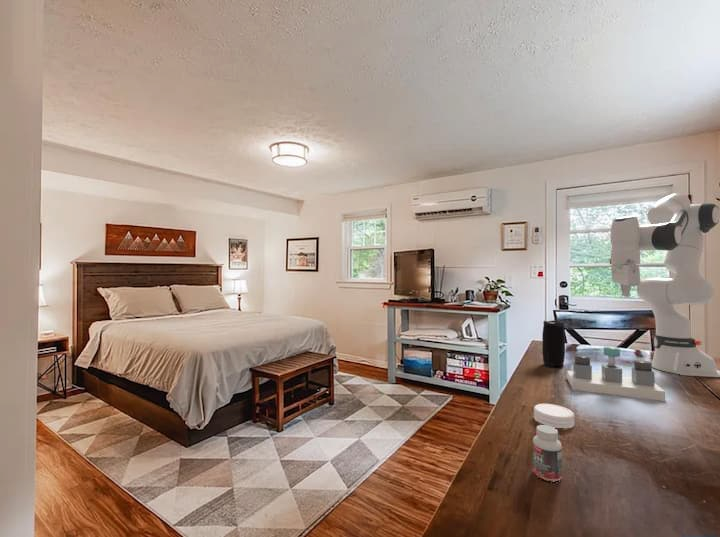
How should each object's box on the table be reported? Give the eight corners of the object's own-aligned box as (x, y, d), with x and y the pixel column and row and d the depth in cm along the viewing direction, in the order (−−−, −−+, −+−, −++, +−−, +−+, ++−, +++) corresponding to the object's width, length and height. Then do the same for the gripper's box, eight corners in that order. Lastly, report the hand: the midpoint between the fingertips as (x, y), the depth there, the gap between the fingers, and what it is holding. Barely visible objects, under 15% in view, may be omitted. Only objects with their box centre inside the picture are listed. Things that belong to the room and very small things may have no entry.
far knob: (588, 372, 131) (588, 355, 131) (591, 376, 126) (591, 359, 126) (573, 371, 133) (573, 354, 133) (575, 374, 128) (575, 357, 128)
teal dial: (618, 364, 127) (618, 346, 127) (621, 368, 123) (621, 349, 123) (602, 363, 129) (602, 345, 129) (605, 366, 125) (605, 348, 125)
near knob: (648, 379, 124) (648, 361, 124) (653, 383, 119) (653, 364, 119) (632, 377, 125) (632, 359, 125) (636, 381, 121) (636, 363, 121)
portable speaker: (554, 362, 161) (554, 319, 161) (569, 368, 151) (570, 322, 151) (537, 363, 159) (537, 320, 159) (552, 369, 150) (552, 323, 150)
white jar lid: (525, 418, 102) (525, 405, 102) (550, 412, 105) (550, 400, 105) (557, 433, 92) (557, 419, 92) (582, 426, 96) (582, 413, 96)
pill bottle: (529, 476, 73) (529, 429, 73) (536, 465, 77) (536, 420, 77) (558, 487, 69) (559, 437, 69) (564, 475, 73) (564, 428, 73)
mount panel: (649, 387, 127) (649, 365, 127) (665, 400, 114) (665, 376, 114) (567, 378, 138) (567, 358, 137) (572, 389, 125) (572, 367, 125)
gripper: (645, 259, 121) (646, 299, 121) (627, 259, 140) (627, 294, 140) (623, 260, 124) (624, 299, 124) (608, 259, 142) (608, 293, 143)
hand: (625, 296), depth 132 cm, fingers closed
